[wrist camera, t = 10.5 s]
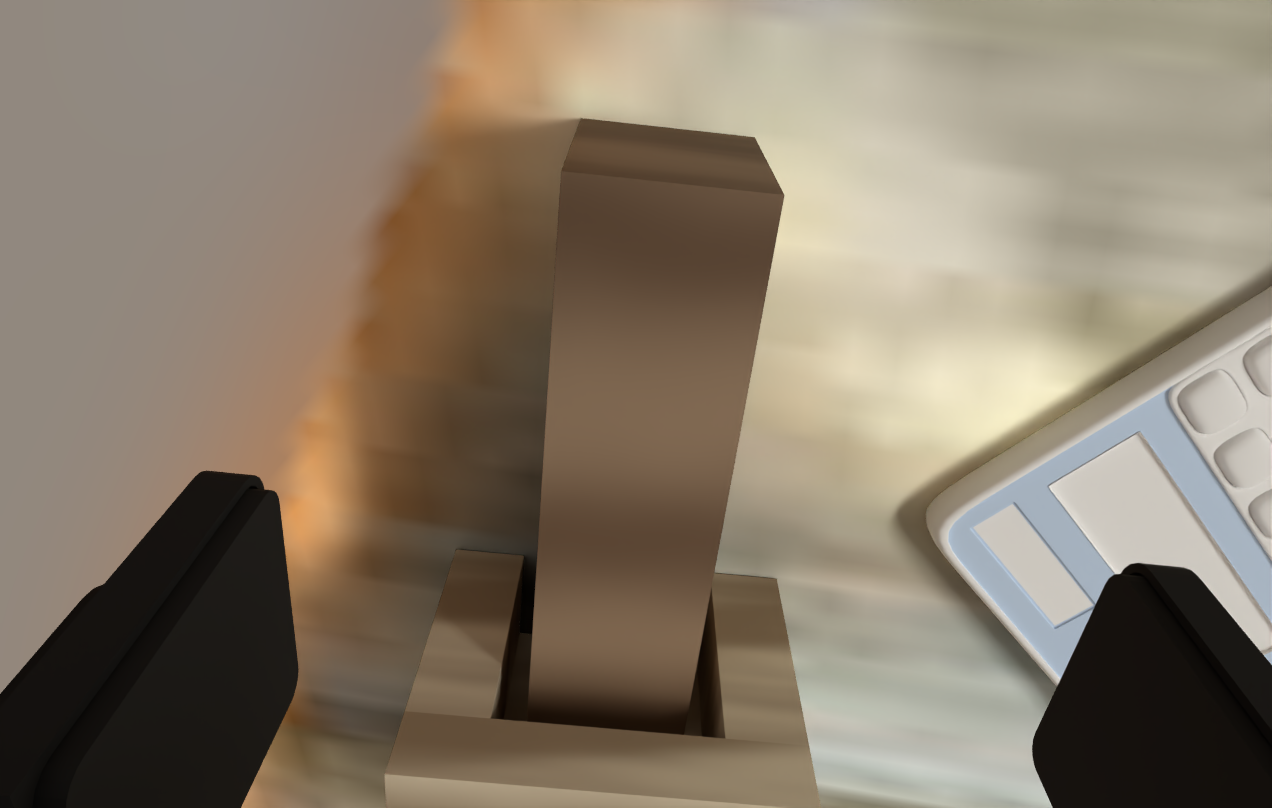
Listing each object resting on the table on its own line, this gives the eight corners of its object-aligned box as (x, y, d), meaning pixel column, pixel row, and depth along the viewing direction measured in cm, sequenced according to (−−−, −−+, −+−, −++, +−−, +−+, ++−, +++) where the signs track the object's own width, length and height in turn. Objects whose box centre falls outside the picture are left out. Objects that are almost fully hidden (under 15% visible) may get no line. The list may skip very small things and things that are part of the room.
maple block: (455, 549, 30) (384, 774, 22) (776, 579, 30) (821, 810, 22) (455, 715, 33) (393, 958, 25) (739, 740, 34) (766, 987, 26)
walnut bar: (581, 117, 23) (561, 170, 18) (753, 135, 23) (784, 195, 18) (544, 629, 32) (523, 768, 26) (670, 640, 32) (675, 780, 26)
